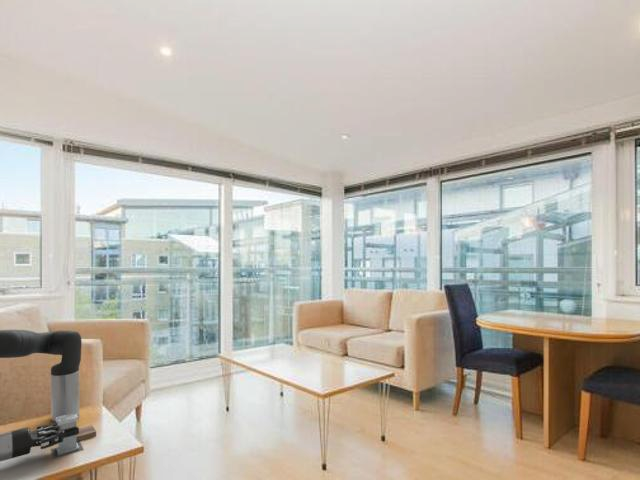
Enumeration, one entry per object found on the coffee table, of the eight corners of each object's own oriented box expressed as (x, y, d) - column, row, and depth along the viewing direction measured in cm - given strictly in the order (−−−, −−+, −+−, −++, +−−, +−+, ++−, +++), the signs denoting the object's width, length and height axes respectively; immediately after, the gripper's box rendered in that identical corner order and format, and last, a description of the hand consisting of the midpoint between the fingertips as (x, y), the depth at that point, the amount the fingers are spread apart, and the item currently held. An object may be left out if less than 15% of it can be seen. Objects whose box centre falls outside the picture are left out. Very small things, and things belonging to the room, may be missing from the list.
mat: (50, 452, 128) (50, 449, 128) (79, 444, 133) (79, 441, 133) (53, 462, 122) (53, 458, 122) (84, 453, 127) (84, 449, 127)
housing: (55, 449, 128) (55, 417, 128) (76, 443, 131) (75, 412, 132) (58, 455, 124) (57, 422, 124) (79, 449, 127) (78, 417, 127)
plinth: (68, 438, 138) (68, 430, 138) (92, 432, 142) (92, 424, 142) (72, 445, 132) (72, 437, 132) (96, 438, 137) (96, 431, 137)
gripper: (11, 440, 113) (81, 422, 124) (8, 424, 124) (73, 409, 135) (11, 467, 113) (81, 447, 124) (9, 449, 124) (73, 432, 135)
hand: (76, 427), depth 129 cm, fingers closed on housing, 4 cm apart
